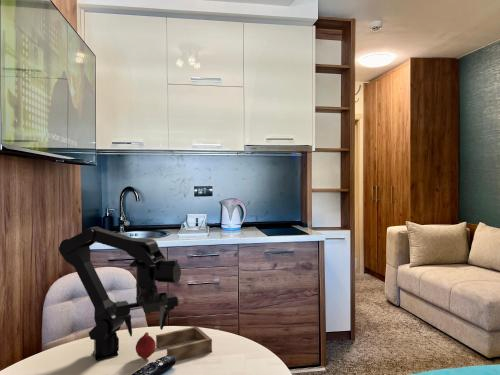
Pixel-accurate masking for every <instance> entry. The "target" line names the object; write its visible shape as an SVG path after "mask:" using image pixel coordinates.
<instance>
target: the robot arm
mask: <svg viewBox="0 0 500 375" xmlns="http://www.w3.org/2000/svg"><path fill="white" fill-rule="evenodd" d="M157 242H158V241H156V240H155V239H153V238H146V237H145V238H144V237H131V236H128V235H124V234H121V233H117V232H115V231H111V230H107V229H104V228H102V227H100V226H92V227H88V228H87V229H85V230H83V231H82V232H79V233H78V234H76V235H74V236H72V237H70V238H66V239H63V240H62V241H61V242H60V243H59V247H58V251H59V253H60V256H62V258H63V260H64V261H65V262H66V263H68V264H69V265H70V266H72V267H73V268H74V269H75V271H76V274H77V275H78V276H77V277H79V279H80V280H79V281H81V283H82V285H83V288H84V289H85V292H86V293H87V296H88V297H89V300H90V301H91V304H92V306H93V308H94V313H93V314H94V317H93V319H94V322H95V326H93V328H91V330H90V331H89V332H88V335H89V336H88V337H89V339H90V340H92V341H93V350H92V354H93V357H94V359H95V361H101V360H105V359H109V358H110V359H111V358H114V357H117V356H119V353H118V352H119V350H120V346H119V345H120V341H119V340H120V339H119V337H118V334H117V332H118V331H120V329H121V327H122V326H123V324H125V325H126V329H127V331H128V334H129V336H130V337H133V328H132V326H133V325H132V315H131V314H130V313H131V311H135V310H139V309H140V310H141V309H142V311H143V313H144V314H150V313H155V312H156V313H158V312H159V329H160V331H161V330H163V329H164V326H165V324H166V321H167V317H168V316H169V313H170V312H171V311H172V310H175V308H176V307H178V306H179V303H180V302H179V298H178V296H177V295H176V294H173V292H170V293H167V291H165V292H160V293H159V292H158V287H157V286H158V285H157V282H158V283H166V284H167V283H168V284H178V283H179V281H180V279H181V275H182V268H181V266H180V264H179V263H178V262H179V260H178V259H167V258H166V256H165V255H164V254H163V252H162V251H161V249H160V248H159V245H158V243H157ZM95 243H99V244H102V245H105V246H108V247H111V248H116V249H117V250H120V251H123V252H126V254H127V255H128V256H129V257H131V258H133V261H132V262H131V263H130V264H129V265H128V266H129V267H130V268H135V269H136V270H135V273H136V274H135V276H136V283H135V288H136V292H135V294H136V296H135V301H136V302H131V303H129V302H128V301H127V300H122V301H119V300H118V301H115V302H114V301H113V300H111V299H110V297H109V294H108V292H107V291H106V289H105V287H104V285H103V283H102V280H101V279H100V277H99V275H98V273H97V271H96V269H95V268H94V265H93V263H92V261H91V248H90V247H91V246H92V245H93V244H94V245H95Z"/></svg>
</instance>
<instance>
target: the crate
mask: <svg viewBox="0 0 500 375" xmlns="http://www.w3.org/2000/svg"><path fill="white" fill-rule="evenodd" d="M187 342H188V343H187ZM155 343H156V347H155V349H157V350H158V349H161V348H166V347H167V348H166V357H167V356H173V357H175V359H176V361H175V362H178V361H182V360H186V359H191V358H194V357H197V356H202V355H205V354H210V353H213V339H212V338H211V337H210V336H209V335H207V333H205V332H204V331H203V330H202V329H200V328H199V327H198V326H197V325H196V326H192V327H187V328H183V329H178V330H174V331H168V332H164V333H160V334H156V335H155ZM182 343H183V344H182ZM179 344H180V345H179ZM174 345H176V346H174Z"/></svg>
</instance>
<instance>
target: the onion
mask: <svg viewBox="0 0 500 375" xmlns="http://www.w3.org/2000/svg"><path fill="white" fill-rule="evenodd" d="M155 351H156V340H155V339H154V338H153V337H152V336H151V335H149V332H145V333H144V334H143V336H141V337H140V338H139V339H138V340H137V342H136V344H135V353H136V354H137V356H138V357H139V358H142V359H143V360H147V359H149V357H151V356H152V355H153V354H154V352H155Z"/></svg>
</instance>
